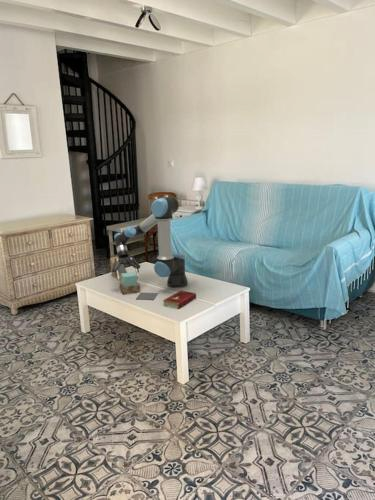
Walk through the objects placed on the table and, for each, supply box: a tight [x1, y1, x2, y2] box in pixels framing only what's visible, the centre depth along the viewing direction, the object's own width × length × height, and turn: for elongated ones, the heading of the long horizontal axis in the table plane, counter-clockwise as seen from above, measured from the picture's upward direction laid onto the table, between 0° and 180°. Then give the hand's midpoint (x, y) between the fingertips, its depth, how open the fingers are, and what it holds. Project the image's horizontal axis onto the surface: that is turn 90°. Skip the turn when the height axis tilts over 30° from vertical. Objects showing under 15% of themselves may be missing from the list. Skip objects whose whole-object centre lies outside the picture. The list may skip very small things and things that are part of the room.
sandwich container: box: [109, 256, 128, 281], centre depth 311 cm, size 9×15×15 cm, turn 38°
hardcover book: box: [162, 289, 197, 310], centre depth 258 cm, size 12×21×4 cm, turn 147°
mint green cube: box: [121, 271, 138, 287], centre depth 279 cm, size 9×9×7 cm
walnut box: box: [119, 281, 141, 295], centre depth 280 cm, size 12×11×7 cm
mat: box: [135, 292, 159, 301], centre depth 269 cm, size 12×12×1 cm
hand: (128, 278), depth 279 cm, fingers open, 13 cm apart
